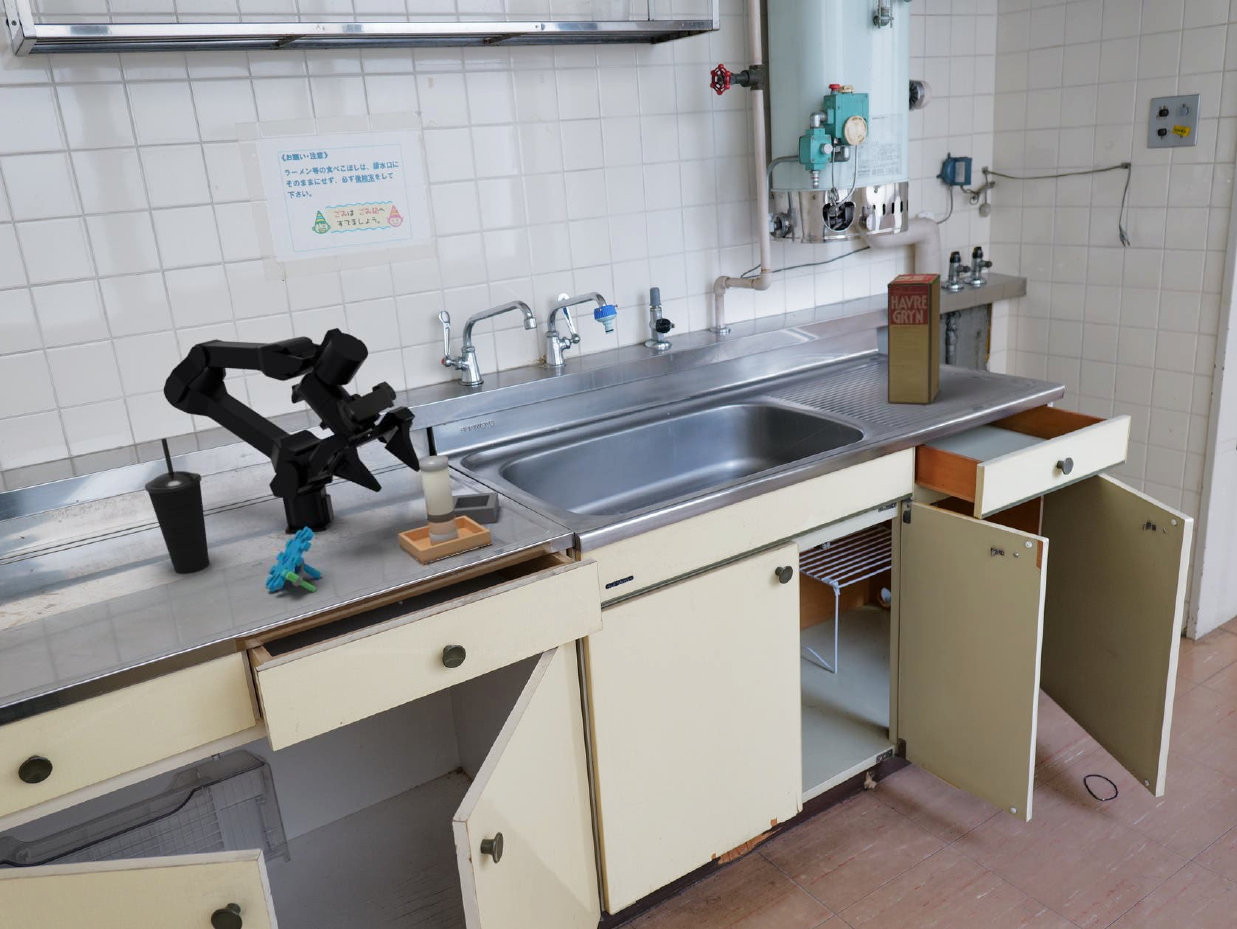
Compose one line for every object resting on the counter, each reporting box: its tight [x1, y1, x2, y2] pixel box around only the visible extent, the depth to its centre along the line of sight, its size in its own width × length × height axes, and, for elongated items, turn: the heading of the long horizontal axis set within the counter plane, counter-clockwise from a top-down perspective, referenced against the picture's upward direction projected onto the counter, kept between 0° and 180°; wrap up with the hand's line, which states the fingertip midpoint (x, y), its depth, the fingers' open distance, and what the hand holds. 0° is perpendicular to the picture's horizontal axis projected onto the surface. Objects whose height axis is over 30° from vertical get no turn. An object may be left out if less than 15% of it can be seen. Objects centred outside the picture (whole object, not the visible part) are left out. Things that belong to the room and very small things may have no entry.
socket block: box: [452, 491, 500, 525], centre depth 160 cm, size 8×8×2 cm
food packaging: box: [886, 273, 942, 406], centre depth 207 cm, size 13×9×25 cm
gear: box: [264, 527, 322, 593], centre depth 139 cm, size 11×6×10 cm
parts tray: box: [397, 515, 492, 565], centre depth 149 cm, size 11×9×2 cm
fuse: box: [418, 455, 459, 546], centre depth 147 cm, size 4×4×13 cm
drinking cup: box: [144, 438, 210, 574], centre depth 146 cm, size 8×8×20 cm
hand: (400, 479), depth 150 cm, fingers open, 9 cm apart
